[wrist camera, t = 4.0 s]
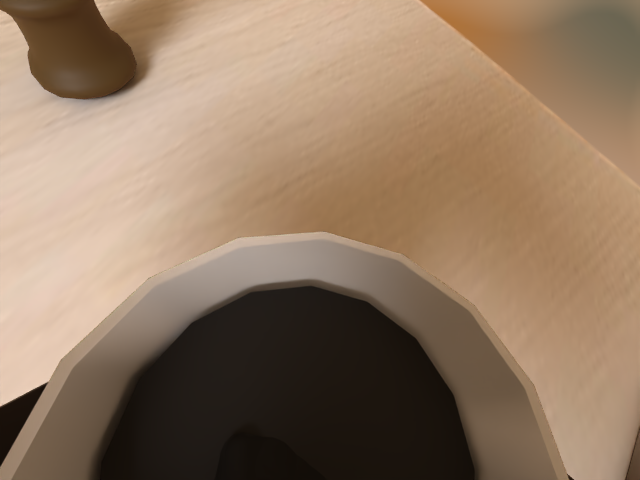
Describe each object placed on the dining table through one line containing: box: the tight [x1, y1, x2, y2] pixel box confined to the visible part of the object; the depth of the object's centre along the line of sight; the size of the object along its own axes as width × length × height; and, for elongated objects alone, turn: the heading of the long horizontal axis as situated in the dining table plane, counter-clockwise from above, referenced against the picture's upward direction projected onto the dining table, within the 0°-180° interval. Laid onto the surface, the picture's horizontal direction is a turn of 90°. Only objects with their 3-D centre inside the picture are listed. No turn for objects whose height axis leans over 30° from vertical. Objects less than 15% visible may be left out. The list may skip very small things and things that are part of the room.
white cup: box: [0, 231, 569, 480], centre depth 8 cm, size 7×7×10 cm
